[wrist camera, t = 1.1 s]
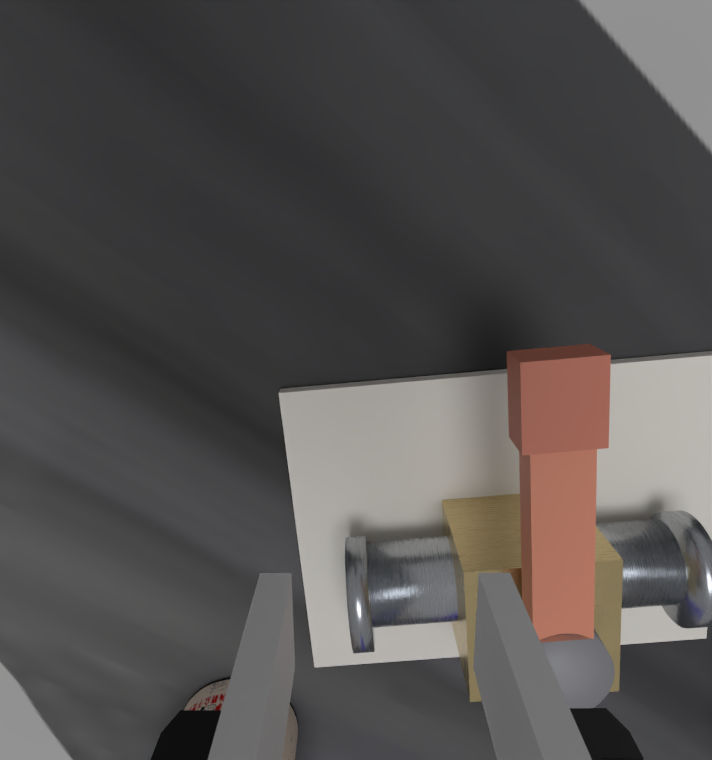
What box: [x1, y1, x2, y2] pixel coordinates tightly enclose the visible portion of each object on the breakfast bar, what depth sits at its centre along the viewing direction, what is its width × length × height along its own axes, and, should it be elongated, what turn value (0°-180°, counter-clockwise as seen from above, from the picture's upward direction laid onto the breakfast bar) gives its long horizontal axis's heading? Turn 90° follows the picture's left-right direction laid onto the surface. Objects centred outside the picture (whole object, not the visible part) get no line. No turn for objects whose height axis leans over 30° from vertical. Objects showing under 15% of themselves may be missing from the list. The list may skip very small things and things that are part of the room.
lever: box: [507, 344, 615, 708], centre depth 27 cm, size 18×5×2 cm, turn 5°
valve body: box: [345, 494, 712, 702], centre depth 34 cm, size 8×20×9 cm, turn 95°
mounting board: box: [279, 351, 712, 667], centre depth 38 cm, size 20×27×1 cm
